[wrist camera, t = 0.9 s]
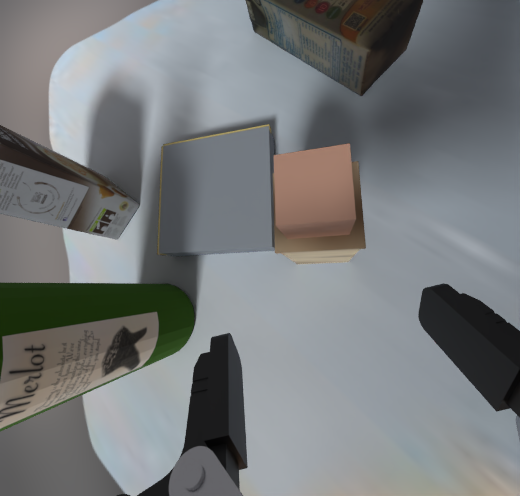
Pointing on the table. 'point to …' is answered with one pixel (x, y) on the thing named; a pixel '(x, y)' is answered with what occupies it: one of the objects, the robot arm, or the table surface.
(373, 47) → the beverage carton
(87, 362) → the wine bottle
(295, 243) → the wooden block
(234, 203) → the dock
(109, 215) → the coffee box
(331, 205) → the cube
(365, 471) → the table surface
